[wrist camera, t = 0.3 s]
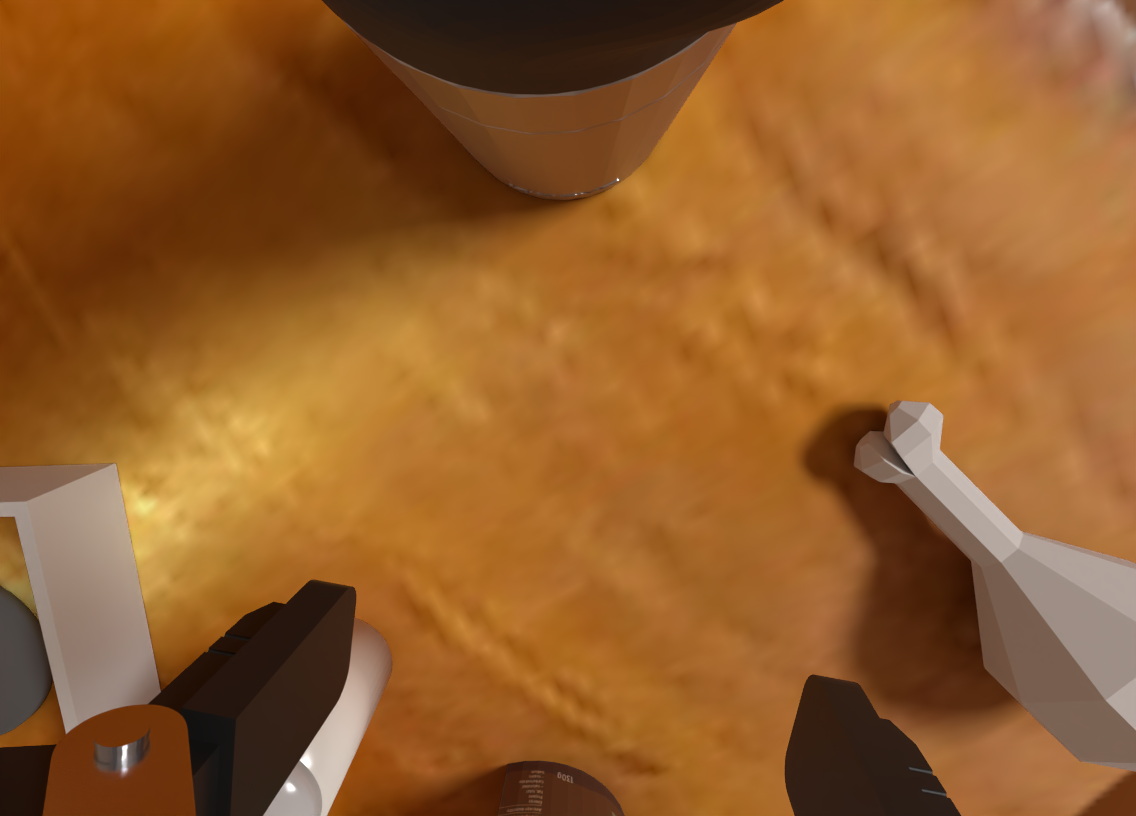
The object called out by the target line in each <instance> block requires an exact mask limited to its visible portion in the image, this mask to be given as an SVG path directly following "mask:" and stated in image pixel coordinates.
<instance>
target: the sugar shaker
mask: <svg viewBox="0 0 1136 816" xmlns="http://www.w3.org/2000/svg"><path fill="white" fill-rule="evenodd" d="M391 672H392V656H391V652H390V649H389V647H388V645H387V643H386V641H385V640H384V638H383V637H382V635H381V634H380V633H379V632H378V631H377V630H376V629H375V628H373V627H372V626H370V625H369V624H367V623H366V622H364V621H362V620H359V619H357V618H354V627H353V637H352V647H351V657H350V666H349V672H348V676H347V680H346V683H345V686H344V689H343V691H342V694H341V696H340V698H339V700H338V702H337V704H336V705H335V707H334V708H333V710H332V712H331V713H330V715H329V716H328V718H327V719H326V721H325V722H324V724H323V725H322V727H321V728H320V730H319V731H318V733H317V734H316V736H315V737H314V739H313V740H312V742H311V744H310V745H309V747H308V748H307V750H306V751H305V753H304V754H303V756H302V757H301V759H300V760H299V762H298V763H297V765H296V766H295V768H294V769H293V771H292V772H291V774H290V776H289V777H288V779H287V780H286V782H285V783H284V785H283V786H282V788H281V789H280V791H279V792H278V794H277V795H276V797H275V798H274V800H273V801H272V803H271V804H270V806H269V808H268V809H267V811H266V812H265V814H264V815H263V816H327V814H328V812H329V810H330V808H331V805H332V803H333V801H334V799H335V797H336V795H337V792H338V790H339V788H340V786H341V784H342V781H343V779H344V777H345V775H346V773H347V770H348V768H349V766H350V764H351V762H352V760H353V757H354V755H355V753H356V751H357V749H358V746H359V744H360V742H361V740H362V738H363V736H364V733H365V731H366V729H367V727H368V725H369V722H370V720H371V718H372V716H373V714H374V711H375V709H376V707H377V705H378V703H379V701H380V698H381V696H382V694H383V692H384V690H385V687H386V685H387V683H388V681H389V679H390V676H391Z"/></svg>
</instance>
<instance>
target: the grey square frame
mask: <svg viewBox="0 0 1136 816" xmlns="http://www.w3.org/2000/svg"><path fill="white" fill-rule="evenodd" d="M14 516H15V520H16V524H17V528H18V533H19V537H20V541H21V545H22V549H23V554H24V558H25V562H26V566H27V571H28V575H29V579H30V583H31V587H32V592H33V596H34V600H35V604H36V609H37V613H38V617H39V621H40V625H41V630H42V634H43V638H44V642H45V647H46V651H47V655H48V659H49V663H50V668H51V672H52V676H53V680H54V685H55V689H56V693H57V697H58V701H59V706H60V710H61V714H62V718H63V722H64V727H65V731H66V734H67V733H68V732H69V731H70V730H71V729H73V728H74V727H76V726H77V725H79V724H80V723H82V722H84V721H85V720H87V719H89V718H91V717H93V716H96V715H98V714H100V713H103V712H106V711H109V710H112V709H116V708H120V707H124V706H131V705H141V704H148V703H149V702H150V701H151V700H153V699H154V698H155V697H156V696H157V695H158V694H159V693H160V692H161V690H160V685H159V680H158V675H157V670H156V664H155V659H154V654H153V649H152V644H151V639H150V634H149V629H148V624H147V619H146V614H145V609H144V604H143V599H142V594H141V589H140V584H139V579H138V573H137V568H136V563H135V558H134V553H133V548H132V543H131V538H130V533H129V528H128V523H127V518H126V513H125V508H124V503H123V498H122V493H121V487H120V482H119V477H118V472H117V467H116V463H109V464H80V465H51V466H21V467H0V517H14Z"/></svg>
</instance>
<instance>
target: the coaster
mask: <svg viewBox="0 0 1136 816" xmlns="http://www.w3.org/2000/svg"><path fill="white" fill-rule="evenodd" d="M52 680H53V676H52V672H51V668H50V663H49V659H48V655H47V651H46V647H45V642H44V638H43V634H42V630H41V625H40V623H39V621H38V620H37V619H36V617H35V616H34V615H33V613H32V612H31V611H30V610H29V609H28V608H27V607H26V606H25V605H24V604H23V603H22V602H21V601H20V600H19V599H18V598H17V597H15V596H14V595H13V594H12V593H10V592H9V591H7V590H6V589H4V588H3V587H1V586H0V735H2V734H5V733H7V732H9V731H11V730H13V729H15V728H16V727H17V726H19V725H20V724H22V723H23V722H24V721H25V720H27V719H28V718H29V717H30V716H31V715H33V714H34V713H35V712H36V711H37V710H38V709H39V708H40V706H41V705H42V703H43V702H44V701H45V699H46V697H47V695H48V693H49V691H50V688H51V684H52Z"/></svg>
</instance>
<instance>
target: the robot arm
mask: <svg viewBox="0 0 1136 816" xmlns="http://www.w3.org/2000/svg"><path fill="white" fill-rule="evenodd" d="M322 1H323V2H324V3H325V4H326V5H327V6H328V7H329V8H330V9H331V10H332V11H333V12H334V13H335V14H336V15H337V16H339V17H340V18H341V19H342V20H343V21H344V22H345V23H346V24H347V26H348V27H349V28H350V29H351V30H352V31H353V32H354V33H355V34H356V35H357V36H358V37H359V38H360V39H361V40H362V41H363V42H364V43H365V44H366V45H367V46H368V47H369V48H370V49H371V50H372V52H373V53H374V54H375V55H376V56H377V57H378V58H379V59H380V60H381V61H382V62H383V63H384V64H385V65H386V66H387V67H388V68H389V69H390V70H391V71H392V72H393V73H394V74H395V75H396V76H397V77H398V78H399V79H400V80H401V81H402V82H403V83H404V84H405V85H406V86H407V87H408V88H409V89H410V90H411V91H412V92H413V94H414V95H415V96H416V97H417V98H418V99H419V100H420V101H421V102H422V103H423V104H424V105H425V106H426V107H427V108H428V109H429V110H430V111H431V113H432V114H433V115H434V116H435V117H436V118H437V119H438V120H439V121H440V122H441V123H442V124H443V125H444V126H445V127H446V128H447V129H448V130H449V132H450V133H451V134H452V135H453V136H454V137H455V138H456V139H457V140H458V141H459V142H460V143H461V144H462V145H463V146H464V148H465V149H466V150H467V151H468V152H469V153H470V154H471V155H472V156H473V157H474V158H475V159H476V160H477V161H478V162H479V163H480V164H481V165H482V166H483V167H484V168H485V169H486V170H488V171H489V172H490V173H491V174H492V175H493V176H495V177H496V178H497V179H498V180H499V181H501V182H502V183H504V184H506V185H508V186H510V187H512V188H513V189H515V190H517V191H519V192H521V193H524V194H528V195H531V196H535V197H538V198H541V199H552V200H572V199H578V198H585V197H590V196H592V195H595V194H597V193H600V192H603V191H605V190H608V189H610V188H612V187H613V186H615V185H616V184H618V183H619V182H621V181H622V180H624V179H625V178H627V177H628V176H630V175H631V174H632V173H633V172H634V171H635V170H636V169H637V168H638V167H639V166H640V165H641V164H642V163H643V162H644V161H645V160H646V159H647V158H648V156H649V155H650V153H651V152H652V150H653V149H654V147H655V146H656V144H657V143H658V141H659V140H660V139H661V137H662V136H663V134H664V133H665V132H666V130H667V129H668V127H669V126H670V124H671V123H672V121H673V120H674V118H675V117H676V115H677V114H678V112H679V111H680V109H681V108H682V106H683V104H684V103H685V101H686V100H687V98H688V97H689V95H690V94H691V92H692V91H693V89H694V88H695V86H696V85H697V83H698V82H699V80H700V78H701V77H702V75H703V74H704V72H705V71H706V69H707V68H708V66H709V65H710V63H711V62H712V60H713V59H714V57H715V55H716V54H717V52H718V51H719V49H720V48H721V46H722V45H723V43H724V42H725V40H726V39H727V37H728V36H729V34H730V33H731V31H732V29H733V28H734V26H735V25H736V23H737V22H740V21H742V20H745V19H747V18H750V17H752V16H755V15H757V14H759V13H761V12H763V11H765V10H767V9H769V8H770V7H772V6H774V5H776V4H778V3H780V2H782V1H783V0H322ZM355 607H356V591H355V588H354V587H351V586H346V585H340V584H335V583H330V582H324V581H319V580H310V581H309V582H308V583H306V584H305V585H304V586H303V587H302V588H301V589H300V590H299V591H298V592H297V593H296V594H295V595H294V596H293V597H292V598H291V599H290V600H289V601H288V602H287V603H286V604H282V603H277V602H272V603H270V604H268V605H266V606H264V607H261V608H259V609H257V610H255V611H253V612H251V613H248V614H246V615H245V616H244V617H242V618H241V619H240V620H239V621H238V622H237V623H236V624H235V625H234V626H233V627H231V628H230V629H229V630H228V631H227V632H226V633H225V636H224V637H221V638H219V639H218V640H217V641H216V642H215V643H214V644H213V645H212V646H211V647H210V648H209V650H208V652H204V653H203V654H202V655H201V656H200V657H199V658H197V659H196V660H195V661H194V662H193V663H192V664H191V665H190V666H189V667H188V668H187V669H185V670H184V671H183V672H182V673H181V674H180V675H179V676H178V677H177V678H176V679H174V680H173V681H172V682H171V683H170V684H169V685H168V686H167V687H166V688H165V689H163V690H162V691H161V692H160V693H159V694H158V695H157V696H156V697H155V698H154V699H153V700H151V701H150V702H149V703H148V704H141V705H131V706H124V707H120V708H116V709H112V710H109V711H106V712H103V713H100V714H98V715H96V716H93V717H91V718H89V719H87V720H85V721H84V722H82V723H80V724H79V725H77V726H76V727H74V728H73V729H71V730H70V731H69V732H68V733H67V734H66V735H65V736H64V737H63V738H62V739H61V740H60V741H59V742H58V744H55V745H41V746H22V747H2V748H0V816H263V815H264V814H265V812H266V811H267V809H268V808H269V806H270V804H271V803H272V801H273V800H274V798H275V797H276V795H277V794H278V792H279V791H280V789H281V788H282V786H283V785H284V783H285V782H286V780H287V779H288V777H289V776H290V774H291V772H292V771H293V769H294V768H295V766H296V765H297V763H298V762H299V760H300V759H301V757H302V756H303V754H304V753H305V751H306V750H307V748H308V747H309V745H310V744H311V742H312V740H313V739H314V737H315V736H316V734H317V733H318V731H319V730H320V728H321V727H322V725H323V724H324V722H325V721H326V719H327V718H328V716H329V715H330V713H331V712H332V710H333V708H334V707H335V705H336V704H337V702H338V700H339V698H340V696H341V694H342V691H343V689H344V686H345V683H346V680H347V676H348V672H349V666H350V657H351V647H352V637H353V627H354V617H355ZM785 783H786V789H787V793H788V796H789V800H790V803H791V806H792V809H793V812H794V815H795V816H961V815H960V813H959V812H958V810H957V808H956V807H955V805H954V804H953V802H952V801H951V799H950V798H947V797H946V791H945V789H944V788H943V786H942V785H941V783H940V782H939V780H938V778H937V777H936V776H934V775H933V774H932V769H931V767H930V766H929V764H928V763H927V761H926V760H925V758H924V756H923V755H922V753H921V752H920V750H919V749H918V747H917V745H916V744H915V743H914V742H913V741H912V740H910V739H909V738H908V737H907V736H906V735H905V734H904V733H903V732H902V731H901V730H900V729H899V728H897V727H896V726H895V725H894V724H893V723H892V722H891V721H890V720H887V719H881V718H879V716H878V715H877V713H876V711H875V710H874V708H873V706H872V704H871V703H870V701H869V699H868V698H867V696H866V694H865V693H864V691H863V689H862V688H861V686H860V685H859V684H858V683H856V682H850V681H845V680H840V679H834V678H829V677H824V676H819V675H810V676H809V677H808V679H807V680H806V683H805V685H804V688H803V692H802V696H801V700H800V703H799V707H798V711H797V714H796V718H795V722H794V726H793V729H792V733H791V737H790V740H789V744H788V748H787V752H786V758H785Z"/></svg>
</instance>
